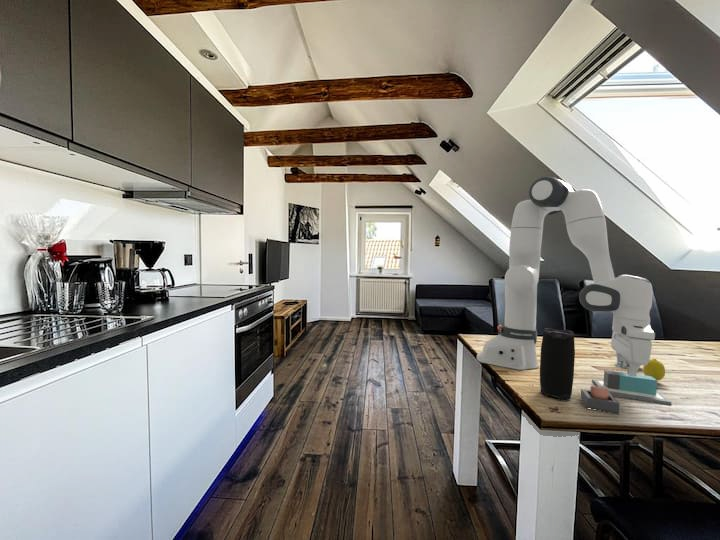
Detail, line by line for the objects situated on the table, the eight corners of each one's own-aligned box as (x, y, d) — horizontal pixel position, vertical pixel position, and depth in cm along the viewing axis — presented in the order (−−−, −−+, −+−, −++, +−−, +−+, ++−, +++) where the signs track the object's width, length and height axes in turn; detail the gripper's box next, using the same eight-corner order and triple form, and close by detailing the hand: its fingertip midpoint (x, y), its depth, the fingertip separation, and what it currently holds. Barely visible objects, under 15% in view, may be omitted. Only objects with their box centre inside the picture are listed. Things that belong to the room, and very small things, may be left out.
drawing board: (603, 394, 98) (603, 391, 98) (592, 381, 109) (592, 378, 109) (671, 404, 92) (671, 401, 92) (652, 389, 103) (652, 387, 103)
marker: (607, 388, 101) (608, 373, 101) (603, 383, 104) (604, 370, 104) (656, 395, 96) (657, 380, 96) (650, 390, 100) (651, 376, 100)
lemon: (668, 385, 107) (670, 361, 107) (649, 383, 108) (651, 360, 108) (657, 379, 113) (658, 357, 112) (638, 378, 114) (640, 355, 114)
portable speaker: (571, 393, 97) (575, 329, 97) (572, 405, 89) (576, 335, 89) (539, 387, 102) (542, 325, 101) (537, 397, 94) (541, 330, 93)
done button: (592, 400, 88) (593, 389, 88) (588, 395, 92) (589, 384, 92) (610, 403, 86) (611, 392, 86) (605, 397, 90) (606, 387, 90)
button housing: (587, 408, 87) (587, 398, 87) (580, 399, 94) (581, 388, 94) (619, 414, 85) (619, 403, 84) (609, 403, 91) (610, 393, 91)
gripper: (607, 320, 111) (603, 359, 111) (629, 332, 92) (625, 379, 92) (630, 323, 108) (626, 363, 109) (658, 335, 89) (653, 384, 90)
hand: (626, 370), depth 100 cm, fingers open, 8 cm apart
